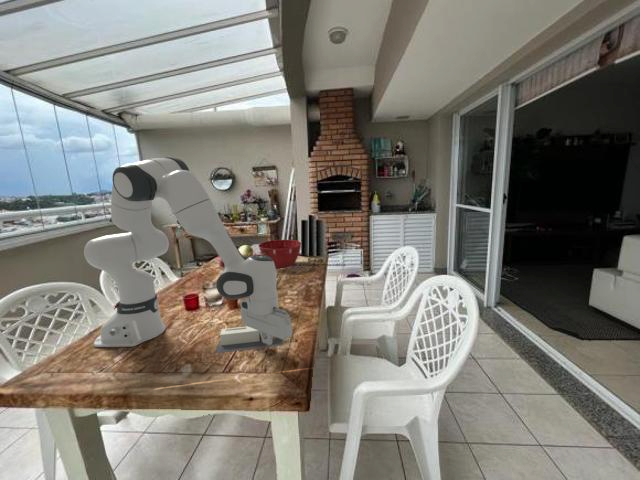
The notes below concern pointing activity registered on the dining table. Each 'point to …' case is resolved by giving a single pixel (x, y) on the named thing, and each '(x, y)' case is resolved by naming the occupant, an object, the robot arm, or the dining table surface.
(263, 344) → the slate mat
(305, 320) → the dining table surface
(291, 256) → the mixing bowl
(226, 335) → the pale green slotted block
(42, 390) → the dining table surface
